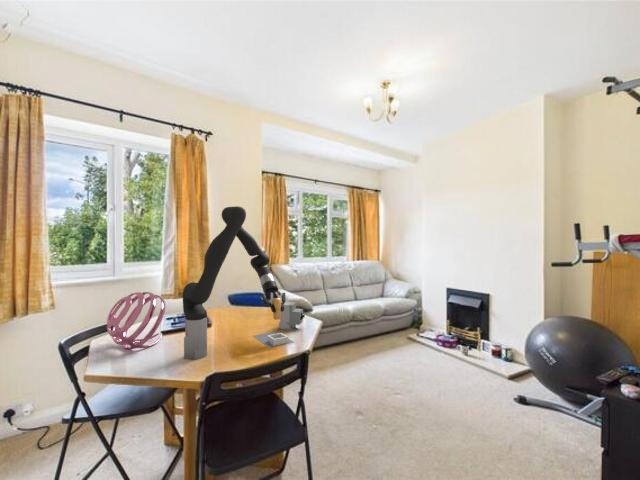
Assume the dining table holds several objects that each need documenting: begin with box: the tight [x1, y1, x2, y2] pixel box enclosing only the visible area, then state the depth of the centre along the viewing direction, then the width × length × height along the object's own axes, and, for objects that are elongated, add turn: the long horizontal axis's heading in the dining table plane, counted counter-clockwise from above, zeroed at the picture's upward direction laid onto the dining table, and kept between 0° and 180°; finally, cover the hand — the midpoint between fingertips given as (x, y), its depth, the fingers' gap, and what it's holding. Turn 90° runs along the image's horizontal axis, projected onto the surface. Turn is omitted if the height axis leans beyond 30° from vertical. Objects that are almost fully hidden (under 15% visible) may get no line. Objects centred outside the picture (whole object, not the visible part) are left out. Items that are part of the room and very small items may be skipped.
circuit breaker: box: [278, 301, 306, 330], centre depth 181 cm, size 8×14×15 cm, turn 78°
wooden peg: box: [272, 297, 282, 320], centre depth 155 cm, size 4×4×10 cm
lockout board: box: [252, 330, 294, 349], centre depth 160 cm, size 22×14×4 cm, turn 34°
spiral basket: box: [106, 291, 166, 350], centre depth 154 cm, size 28×28×27 cm
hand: (278, 311), depth 154 cm, fingers closed on wooden peg, 4 cm apart
